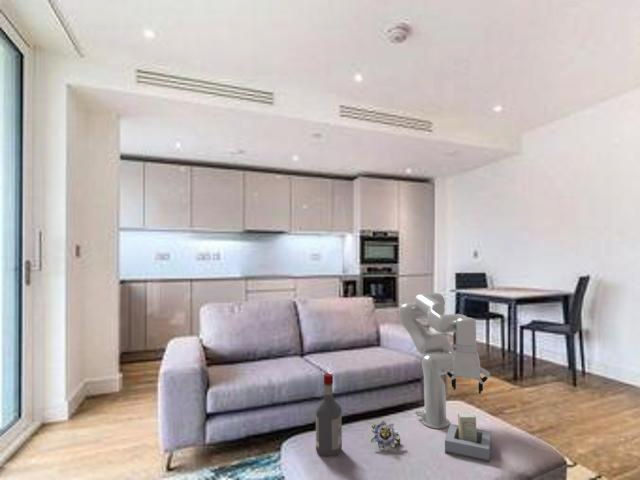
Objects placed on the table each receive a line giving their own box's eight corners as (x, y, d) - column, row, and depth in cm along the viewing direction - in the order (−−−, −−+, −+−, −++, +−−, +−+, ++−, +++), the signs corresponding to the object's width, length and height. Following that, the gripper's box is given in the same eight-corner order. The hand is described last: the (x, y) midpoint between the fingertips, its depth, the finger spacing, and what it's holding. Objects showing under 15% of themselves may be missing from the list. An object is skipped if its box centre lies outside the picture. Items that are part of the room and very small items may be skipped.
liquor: (343, 447, 156) (342, 372, 157) (336, 458, 148) (336, 379, 149) (321, 443, 159) (321, 370, 160) (314, 454, 151) (313, 377, 152)
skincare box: (474, 443, 157) (473, 412, 157) (477, 448, 152) (476, 417, 153) (458, 442, 157) (457, 412, 158) (460, 447, 153) (460, 416, 153)
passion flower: (385, 463, 154) (370, 442, 151) (378, 445, 164) (363, 425, 162) (408, 447, 154) (393, 426, 151) (399, 430, 164) (385, 410, 162)
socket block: (444, 453, 151) (444, 440, 151) (450, 435, 165) (450, 423, 165) (489, 462, 144) (489, 449, 144) (491, 443, 158) (490, 431, 158)
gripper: (442, 348, 157) (443, 390, 156) (489, 353, 149) (490, 397, 148) (445, 344, 163) (446, 384, 163) (490, 348, 156) (490, 391, 155)
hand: (467, 390), depth 156 cm, fingers open, 9 cm apart
